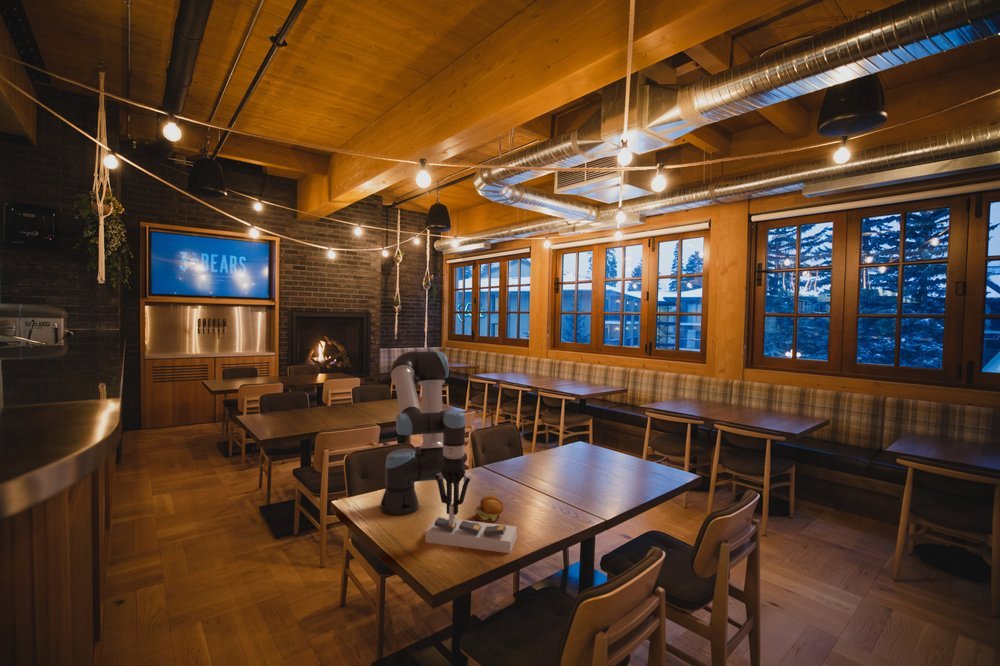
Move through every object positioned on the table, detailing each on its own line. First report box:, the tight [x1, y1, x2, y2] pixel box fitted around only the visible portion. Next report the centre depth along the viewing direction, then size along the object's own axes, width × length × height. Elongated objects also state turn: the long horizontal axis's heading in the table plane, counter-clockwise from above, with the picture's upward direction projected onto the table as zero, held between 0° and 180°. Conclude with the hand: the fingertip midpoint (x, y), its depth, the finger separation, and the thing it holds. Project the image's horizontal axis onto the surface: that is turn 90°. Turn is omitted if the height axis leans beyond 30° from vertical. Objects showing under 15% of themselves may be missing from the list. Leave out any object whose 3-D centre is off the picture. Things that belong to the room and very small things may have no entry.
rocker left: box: [434, 516, 457, 532], centre depth 165 cm, size 7×4×2 cm, turn 78°
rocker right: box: [484, 526, 506, 536], centre depth 161 cm, size 7×4×2 cm, turn 78°
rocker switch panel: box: [425, 516, 518, 554], centre depth 166 cm, size 30×12×4 cm, turn 78°
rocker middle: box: [459, 520, 481, 535], centre depth 163 cm, size 7×4×2 cm, turn 78°
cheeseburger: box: [474, 494, 504, 523], centre depth 184 cm, size 10×11×10 cm
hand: (452, 523), depth 165 cm, fingers closed
